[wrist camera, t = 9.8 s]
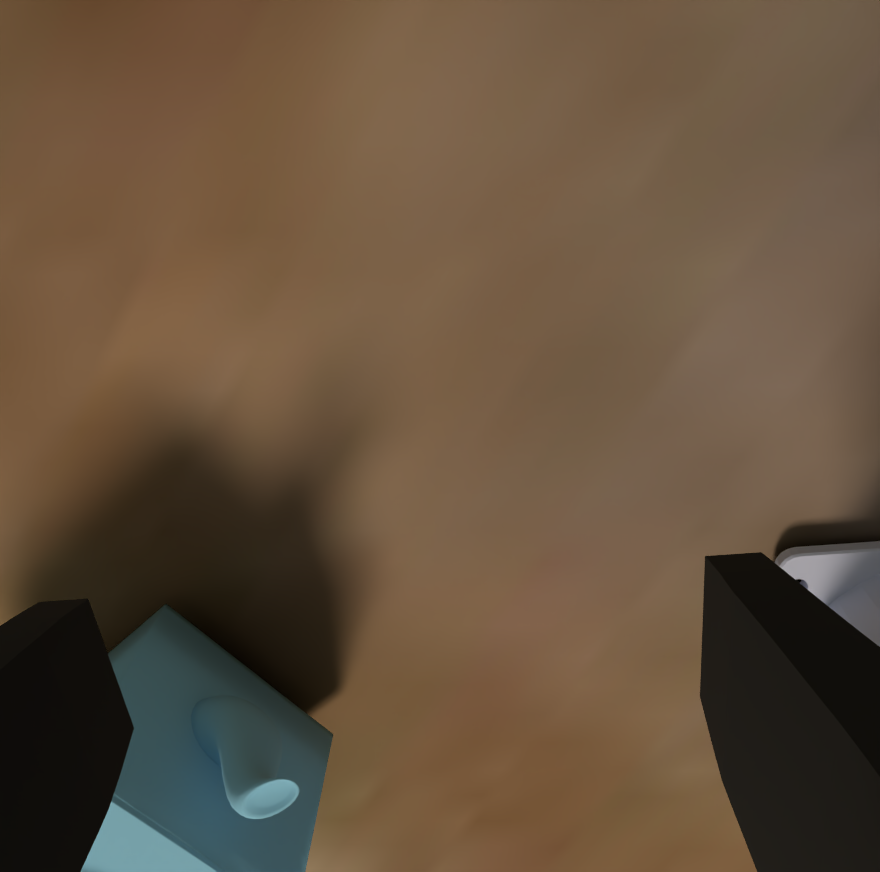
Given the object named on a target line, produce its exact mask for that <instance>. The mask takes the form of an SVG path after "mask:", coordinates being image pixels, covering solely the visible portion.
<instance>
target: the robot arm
mask: <svg viewBox="0 0 880 872" xmlns="http://www.w3.org/2000/svg"><path fill="white" fill-rule="evenodd" d="M796 579H802V581H801V582H800V583H799V582H798V581H796ZM700 698H701V702H702V706H703V710H704V714H705V718H706V722H707V725H708V729H709V733H710V737H711V741H712V745H713V749H714V752H715V756H716V760H717V763H718V767H719V771H720V774H721V778H722V781H723V784H724V787H725V789H726V792H727V795H728V797H729V800H730V803H731V805H732V808H733V810H734V813H735V815H736V818H737V821H738V823H739V826H740V828H741V831H742V833H743V836H744V839H745V841H746V844H747V846H748V849H749V851H750V854H751V857H752V859H753V862H754V864H755V867H756V869H757V872H880V541H874V542H860V543H845V544H831V545H817V546H802V547H793V548H789V549H786V550H785V551H783V552H781V553H780V554H779V556H778V557H777V558H776V560H775V563H774V562H773V561H772V560H770V559H769V558H768V557H766V556H765V555H764V554H763V553H761V552H760V553H745V554H731V555H716V556H705V576H704V603H703V631H702V658H701V686H700ZM133 730H134V726H133V723H132V720H131V718H130V715H129V712H128V709H127V706H126V704H125V701H124V698H123V695H122V692H121V690H120V687H119V684H118V681H117V678H116V676H115V673H114V670H113V667H112V664H111V662H110V659H109V656H108V653H107V650H106V648H105V645H104V642H103V639H102V636H101V634H100V631H99V628H98V625H97V622H96V620H95V617H94V614H93V611H92V608H91V606H90V603H89V600H88V599H77V600H63V601H48V602H39V603H37V604H35V605H34V606H32V607H30V608H28V609H27V610H25V611H23V612H21V613H20V614H18V615H17V616H15V617H13V618H12V619H10V620H9V621H7V622H6V623H4V624H2V625H1V626H0V872H81V870H82V867H83V865H84V863H85V861H86V859H87V856H88V854H89V852H90V850H91V848H92V846H93V843H94V841H95V839H96V837H97V835H98V832H99V830H100V828H101V826H102V823H103V821H104V819H105V817H106V814H107V812H108V810H109V807H110V804H111V801H112V798H113V795H114V792H115V789H116V786H117V783H118V780H119V777H120V774H121V771H122V767H123V764H124V761H125V757H126V754H127V750H128V747H129V744H130V740H131V737H132V734H133Z"/></svg>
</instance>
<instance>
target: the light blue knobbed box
mask: <svg viewBox="0 0 880 872" xmlns="http://www.w3.org/2000/svg"><path fill="white" fill-rule="evenodd" d="M108 656H109V659H110V662H111V664H112V667H113V670H114V673H115V676H116V678H117V681H118V684H119V687H120V690H121V692H122V695H123V698H124V701H125V704H126V706H127V709H128V712H129V715H130V718H131V720H132V723H133V726H134V730H133V734H132V737H131V740H130V744H129V747H128V750H127V754H126V757H125V761H124V764H123V767H122V771H121V774H120V777H119V780H118V783H117V786H116V789H115V792H114V795H113V798H112V801H111V804H110V807H109V810H108V812H107V814H106V817H105V819H104V821H103V823H102V826H101V828H100V830H99V832H98V835H97V837H96V839H95V841H94V843H93V846H92V848H91V850H90V852H89V854H88V856H87V859H86V861H85V863H84V865H83V867H82V870H81V872H305V870H306V865H307V860H308V855H309V850H310V845H311V840H312V836H313V831H314V826H315V821H316V816H317V811H318V806H319V801H320V796H321V791H322V787H323V782H324V777H325V772H326V767H327V762H328V757H329V752H330V747H331V742H332V737H333V734H332V733H331V732H330V731H328V730H327V729H326V728H324V727H323V726H322V725H321V724H319V723H318V722H317V721H316V720H314V719H313V718H312V717H310V716H309V715H308V714H307V713H305V712H304V711H303V710H301V709H300V708H299V707H298V706H296V705H295V704H294V703H292V702H291V701H290V700H289V699H287V698H286V697H285V696H283V695H282V694H281V693H280V692H278V691H277V690H276V689H275V688H273V687H272V686H271V685H269V684H268V683H267V682H266V681H264V680H263V679H262V678H261V677H259V676H258V675H257V674H255V673H254V672H253V671H252V670H250V669H249V668H248V667H246V666H245V665H244V664H243V663H241V662H240V661H239V660H237V659H236V658H235V657H234V656H232V655H231V654H230V653H228V652H227V651H226V650H225V649H223V648H222V647H221V646H220V645H218V644H217V643H216V642H214V641H213V640H212V639H211V638H209V637H208V636H207V635H206V634H204V633H203V632H202V631H200V630H199V629H198V628H197V627H195V626H194V625H193V624H192V623H190V622H189V621H188V620H186V619H185V618H184V617H183V616H181V615H180V614H179V613H177V612H176V611H175V610H174V609H172V608H171V607H170V606H168V605H167V604H165V605H164V606H162V607H161V608H160V609H159V610H158V611H157V612H155V613H154V614H153V615H152V616H151V617H150V618H148V619H147V620H146V621H145V622H144V623H143V624H141V625H140V626H139V627H138V628H137V629H136V630H134V631H133V632H132V633H131V634H130V635H129V636H127V637H126V638H125V639H124V640H123V641H122V642H121V643H119V644H118V645H117V646H116V647H115V648H114V649H112V650H111V651H110V652H109V653H108Z"/></svg>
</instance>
